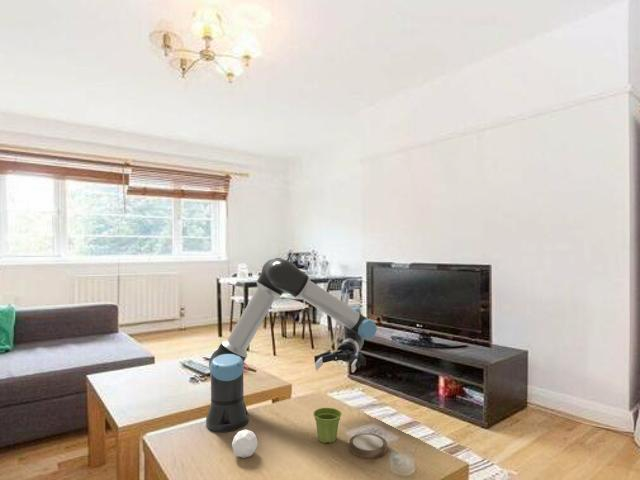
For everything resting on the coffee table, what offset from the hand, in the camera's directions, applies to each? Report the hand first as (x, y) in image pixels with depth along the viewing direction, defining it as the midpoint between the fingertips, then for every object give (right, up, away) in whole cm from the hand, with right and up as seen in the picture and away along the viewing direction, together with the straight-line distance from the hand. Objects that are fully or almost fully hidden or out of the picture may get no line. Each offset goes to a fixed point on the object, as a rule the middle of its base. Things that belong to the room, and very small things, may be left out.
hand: (334, 367), depth 148 cm
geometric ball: (-28, -21, -21) cm, 41 cm away
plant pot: (-3, -21, -11) cm, 24 cm away
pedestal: (+10, -20, -17) cm, 29 cm away
